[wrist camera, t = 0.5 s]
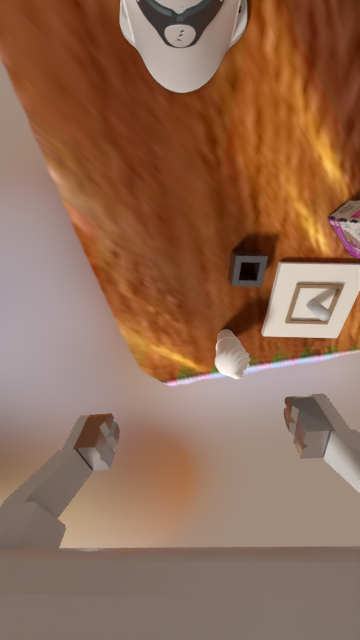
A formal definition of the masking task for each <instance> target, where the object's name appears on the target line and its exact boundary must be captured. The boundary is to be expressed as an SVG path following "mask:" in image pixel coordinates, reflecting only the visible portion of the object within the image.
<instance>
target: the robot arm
mask: <svg viewBox="0 0 360 640" xmlns="http://www.w3.org/2000/svg"><path fill="white" fill-rule="evenodd" d="M239 9H240V11H241V12H240V13H239V14H238V12H239ZM246 24H247V0H120V26H121V30H122V33H123V35H124V37H125V38H126V39H127V40H128V41H129V42H130V43H131V44H132V45H133V46H134V47H135V48H136V49H137V50H138V52H139V53H140V55H141V57H142V59H143V61H144V63H145V65H146V67H147V69H148V70H149V72H150V73H151V75H152V76H153V77H154V78H155V80H156V81H157V82H158V83H160V84H161V85H162V86H163V87H165V88H167V89H169V90H171V91H174V92H179V93H185V92H190V91H193V90H196V89H198V88H200V87H201V86H203V85H204V84H205V83H206V82H207V81H208V80H209V79H210V78H211V77H212V76H213V75H214V73H215V72H216V70H217V69H218V67H219V65H220V64H221V62H222V60H223V58H224V56H225V54H226V52H227V51H228V49H229V48H230V47H231V46H232V45H233V44H234V43H236V42H237V41H238V40H239V39H240V37H241V36H242V35H243V33H244V31H245V29H246ZM285 404H286V406H287V407H286V408H285V409H284V418H285V422H286V425H287V428H288V430H289V432H291V433H292V434H293V435H294V444H295V446H296V448H297V451H298V453H299V455H300V457H301V458H324V460H325V461H326V462H327V463H328V464H329V465H330V466H331V467H333V469H335V470H336V471H337V472H338V473H339V474H340V475H341V476H342V477H343V478H344V479H345V480H346V481H347V482H348V483H350V484H351V485H352V486H353V487H354V488H355V489H356V490H357V491H358V492H359V493H360V433H359V432H358V431H356V430H351V429H350V428H349V427H348V425H347V424H346V423H345V421H344V420H343V418H342V417H341V416H340V414H339V413H338V411H337V410H336V409H335V407H334V406H333V405H332V403H331V402H330V401H329V399H328V398H327V396H326V395H324V394H313V395H300V396H291V397H286V398H285ZM113 419H114V417H113V415H112V414H111V413H109V414H95V415H82V416H80V417H79V418H78V419H77V421H76V423H75V425H74V427H73V429H72V431H71V433H70V435H69V437H68V439H67V441H66V443H65V444H64V446H63V448H62V450H59V451H57V452H56V453H55V454H54V455H53V456H52V457H51V458H50V459H49V460H48V461H47V462H46V463H45V464H44V465H42V466H41V467H40V468H39V469H38V470H37V471H36V472H35V473H34V474H33V475H32V476H31V477H29V478H28V479H27V480H26V481H25V482H24V483H23V484H22V485H21V486H20V487H19V488H18V489H17V490H15V491H14V492H13V493H12V494H11V495H10V496H9V497H8V498H7V499H6V500H5V501H4V502H3V503H2V505H1V507H0V640H360V546H351V547H349V546H344V547H343V546H341V547H204V548H203V547H196V548H195V547H191V548H189V547H188V548H59V546H60V543H61V541H62V538H63V535H64V532H65V530H66V528H65V525H64V524H63V523H62V522H61V521H59V520H58V517H59V516H60V515H61V513H62V512H63V510H64V509H65V508H66V507H67V505H68V504H69V503H70V501H71V500H72V499H73V497H74V496H75V494H76V493H77V492H78V491H79V490H80V488H81V487H82V486H83V484H84V483H85V482H86V480H87V479H88V478H89V476H90V475H91V474H92V471H94V470H106V469H110V467H111V464H112V461H113V457H114V454H115V453H114V450H113V448H114V447H115V446H116V445H117V443H118V440H119V433H120V430H119V426H118V424H117V423H116V422H114V421H113Z"/></svg>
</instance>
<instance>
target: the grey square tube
mask: <svg viewBox="0 0 360 640" xmlns="http://www.w3.org/2000/svg"><path fill="white" fill-rule="evenodd" d="M267 259H268V256H267V255H265V254H264V253H263V252H261V251H232V253H231V261H230V269H229V276H228V279H229V281H230V283H231V285H232V286H262V282H263V278H264V273H265V268H266V264H267ZM241 262H253V265H252V271H251V274H240V268H241Z"/></svg>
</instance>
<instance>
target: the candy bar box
mask: <svg viewBox="0 0 360 640" xmlns="http://www.w3.org/2000/svg"><path fill="white" fill-rule="evenodd" d="M327 219H328V221H329V222H330V224H331V226H332V227H333V229H334V230H335V232H336V233H337V235H338V237H339V238H340V240H341V242H342V243H343V245H344V246H345V248H346V250H347V251H348V253H349V255H351V256H354V257H356V258H359V259H360V200H349V201H347V202H346V203H345V204H344V205H342V206H341V207H340V208H339V209H338V210H336V211H335V212H334V213H332V214H331V215H330V216H329V217H328V218H327Z"/></svg>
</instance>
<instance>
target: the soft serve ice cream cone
mask: <svg viewBox="0 0 360 640" xmlns="http://www.w3.org/2000/svg"><path fill="white" fill-rule="evenodd" d="M216 351H217V353H216V358H215V365H216V367H217V369H218V370H219V371H220V373H222V374H223V375H227V376H230V377H232V378H235V379H240V378H241V377H242V374H243V373H244V371H246V368H247V367H248V366H249V363H248V362H249V361H250V358H249V357H248V356H249V353H247V352H245V349H244V348H243V347H242V345H241V342H240V341H239V339H237V338H236V336H235V335H234V334H233V332H232V331H231V330H229V329H223V330H221V331H220V332H219V333H218V338H217V344H216Z"/></svg>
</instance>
